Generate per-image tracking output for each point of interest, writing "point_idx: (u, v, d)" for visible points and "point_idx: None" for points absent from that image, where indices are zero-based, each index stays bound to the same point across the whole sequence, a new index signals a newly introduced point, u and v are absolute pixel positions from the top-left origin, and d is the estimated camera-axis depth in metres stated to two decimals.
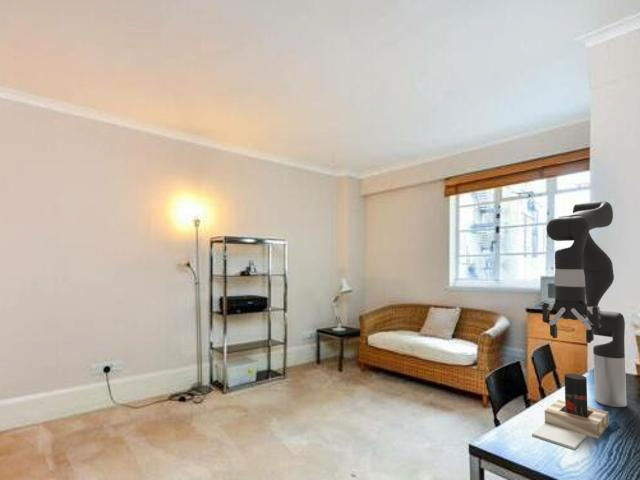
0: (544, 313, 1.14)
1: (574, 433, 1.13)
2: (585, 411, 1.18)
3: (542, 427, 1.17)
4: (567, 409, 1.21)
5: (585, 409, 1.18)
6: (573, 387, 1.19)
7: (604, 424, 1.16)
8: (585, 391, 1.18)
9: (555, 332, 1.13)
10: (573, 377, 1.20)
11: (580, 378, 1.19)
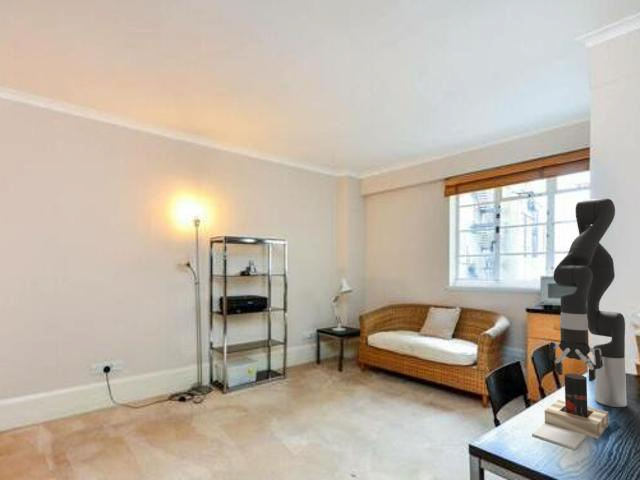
0: (550, 352, 1.26)
1: (574, 433, 1.13)
2: (585, 411, 1.18)
3: (542, 427, 1.17)
4: (567, 409, 1.21)
5: (585, 409, 1.18)
6: (573, 387, 1.19)
7: (604, 424, 1.16)
8: (585, 391, 1.18)
9: (560, 369, 1.24)
10: (573, 377, 1.20)
11: (580, 378, 1.19)
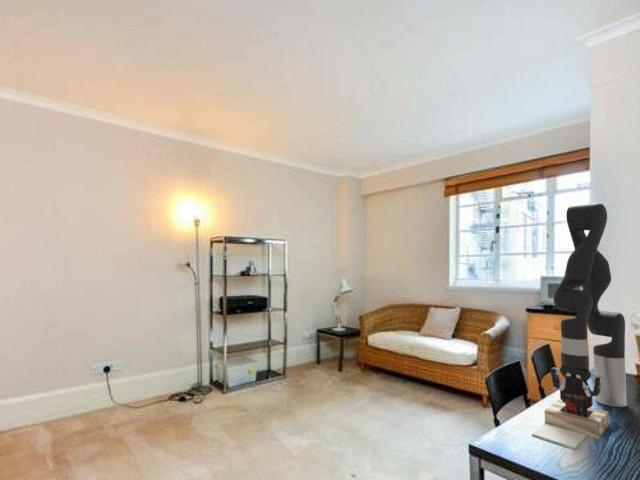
0: (553, 378, 1.25)
1: (574, 433, 1.13)
2: (585, 411, 1.18)
3: (542, 427, 1.17)
4: (567, 409, 1.21)
5: (585, 409, 1.18)
6: (573, 387, 1.19)
7: (604, 424, 1.16)
8: None
9: None
10: (573, 377, 1.20)
11: None
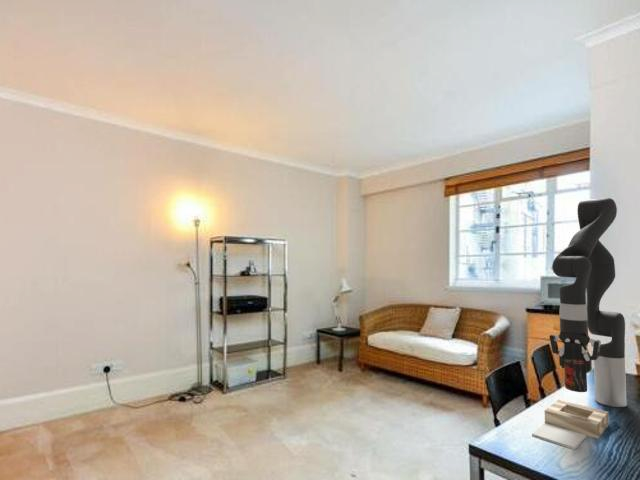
0: (552, 345, 1.25)
1: (574, 433, 1.13)
2: (584, 375, 1.19)
3: (542, 427, 1.17)
4: (566, 374, 1.21)
5: (584, 373, 1.19)
6: (572, 352, 1.20)
7: (604, 424, 1.16)
8: None
9: None
10: (572, 342, 1.21)
11: None
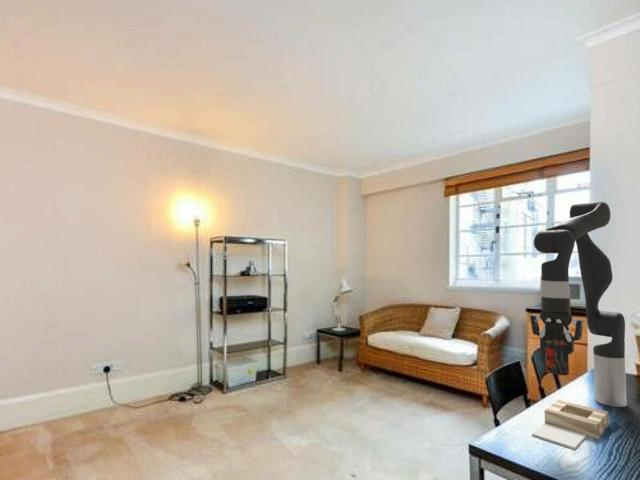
0: (533, 325, 1.17)
1: (574, 433, 1.13)
2: (566, 357, 1.10)
3: (542, 427, 1.17)
4: (547, 356, 1.13)
5: (566, 355, 1.10)
6: (553, 332, 1.11)
7: (604, 424, 1.16)
8: None
9: None
10: (553, 322, 1.13)
11: (561, 323, 1.12)
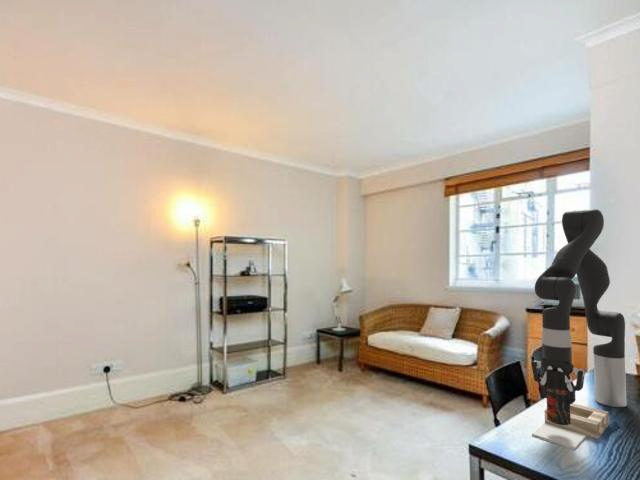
0: (534, 372, 1.17)
1: (574, 433, 1.13)
2: (567, 407, 1.10)
3: (542, 427, 1.17)
4: (548, 405, 1.12)
5: (567, 405, 1.10)
6: (555, 381, 1.11)
7: (604, 424, 1.16)
8: None
9: None
10: (555, 370, 1.12)
11: None
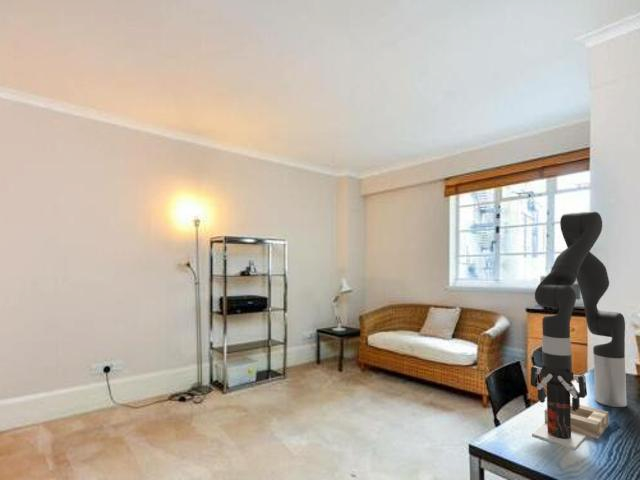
0: (532, 377, 1.17)
1: (574, 433, 1.13)
2: (568, 421, 1.10)
3: (542, 427, 1.17)
4: (549, 418, 1.12)
5: (568, 418, 1.10)
6: (556, 394, 1.11)
7: (604, 424, 1.16)
8: (568, 399, 1.10)
9: (543, 396, 1.15)
10: (555, 384, 1.12)
11: None
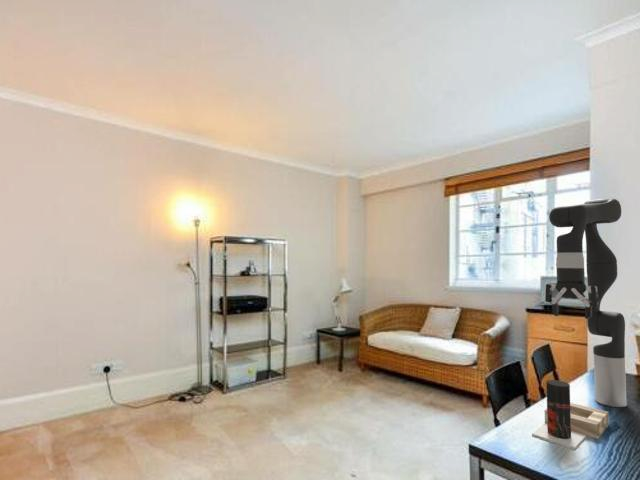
0: (547, 293, 1.25)
1: (574, 433, 1.13)
2: (568, 421, 1.10)
3: (542, 427, 1.17)
4: (549, 418, 1.12)
5: (568, 419, 1.10)
6: (555, 394, 1.11)
7: (604, 424, 1.16)
8: (568, 399, 1.10)
9: (557, 310, 1.24)
10: (555, 384, 1.12)
11: (563, 385, 1.11)
